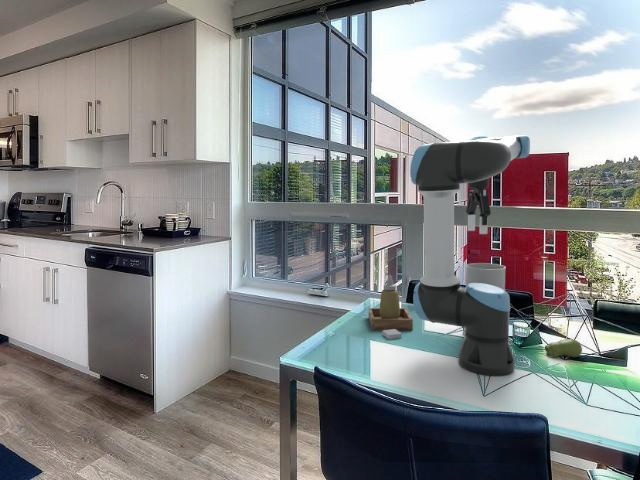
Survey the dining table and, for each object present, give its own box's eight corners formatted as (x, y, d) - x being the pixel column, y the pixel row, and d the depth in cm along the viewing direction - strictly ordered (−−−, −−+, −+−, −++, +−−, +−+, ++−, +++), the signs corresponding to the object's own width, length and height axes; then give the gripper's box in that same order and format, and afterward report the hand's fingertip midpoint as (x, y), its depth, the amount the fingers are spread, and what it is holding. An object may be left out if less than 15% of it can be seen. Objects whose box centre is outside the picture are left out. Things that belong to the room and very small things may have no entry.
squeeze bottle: (377, 323, 154) (377, 277, 152) (380, 317, 161) (380, 273, 159) (399, 325, 151) (399, 278, 149) (401, 318, 159) (401, 274, 157)
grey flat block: (401, 338, 141) (401, 333, 141) (388, 340, 140) (388, 335, 139) (395, 334, 146) (395, 328, 146) (382, 335, 144) (382, 330, 144)
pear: (584, 342, 119) (547, 345, 122) (586, 359, 120) (549, 362, 122) (576, 335, 125) (541, 339, 127) (578, 352, 125) (543, 355, 128)
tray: (412, 330, 149) (412, 319, 148) (371, 330, 149) (371, 319, 149) (405, 317, 164) (405, 308, 163) (368, 317, 164) (368, 308, 164)
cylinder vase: (462, 339, 139) (463, 267, 136) (467, 328, 150) (469, 262, 147) (501, 345, 133) (504, 270, 130) (504, 333, 144) (506, 264, 141)
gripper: (501, 176, 143) (499, 235, 146) (477, 178, 168) (475, 229, 170) (480, 176, 144) (478, 235, 146) (459, 179, 168) (457, 229, 171)
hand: (477, 232), depth 158 cm, fingers open, 13 cm apart
